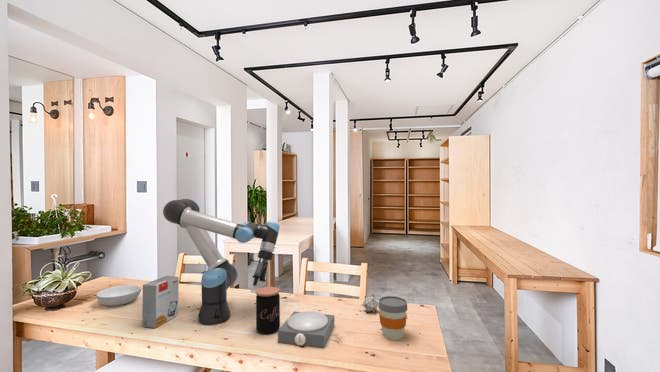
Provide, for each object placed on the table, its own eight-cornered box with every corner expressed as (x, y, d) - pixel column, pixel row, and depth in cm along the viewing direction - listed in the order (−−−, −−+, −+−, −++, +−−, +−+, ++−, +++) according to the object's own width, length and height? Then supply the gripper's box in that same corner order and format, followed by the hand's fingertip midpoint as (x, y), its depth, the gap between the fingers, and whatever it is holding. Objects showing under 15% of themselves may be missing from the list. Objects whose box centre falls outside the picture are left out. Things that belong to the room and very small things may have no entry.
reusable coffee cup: (393, 325, 145) (393, 294, 144) (413, 337, 134) (413, 302, 134) (372, 333, 138) (372, 299, 138) (392, 345, 127) (392, 309, 127)
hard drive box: (155, 329, 143) (154, 286, 143) (141, 327, 144) (141, 284, 144) (179, 315, 158) (178, 276, 158) (166, 313, 160) (166, 275, 159)
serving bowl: (146, 301, 176) (146, 289, 176) (102, 313, 160) (102, 300, 160) (134, 293, 190) (134, 282, 190) (92, 303, 174) (92, 291, 174)
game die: (373, 319, 160) (379, 309, 154) (358, 312, 161) (363, 301, 155) (377, 305, 167) (382, 295, 161) (362, 299, 168) (367, 288, 162)
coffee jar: (258, 337, 135) (258, 295, 134) (254, 326, 144) (254, 288, 144) (282, 332, 139) (282, 292, 139) (276, 322, 149) (276, 285, 149)
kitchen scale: (277, 343, 129) (276, 328, 129) (294, 321, 149) (294, 309, 149) (323, 349, 124) (323, 333, 124) (334, 325, 145) (334, 312, 145)
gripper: (270, 248, 151) (258, 293, 143) (276, 256, 174) (266, 295, 166) (255, 245, 151) (242, 290, 143) (263, 254, 174) (252, 293, 166)
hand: (255, 293), depth 154 cm, fingers open, 13 cm apart
